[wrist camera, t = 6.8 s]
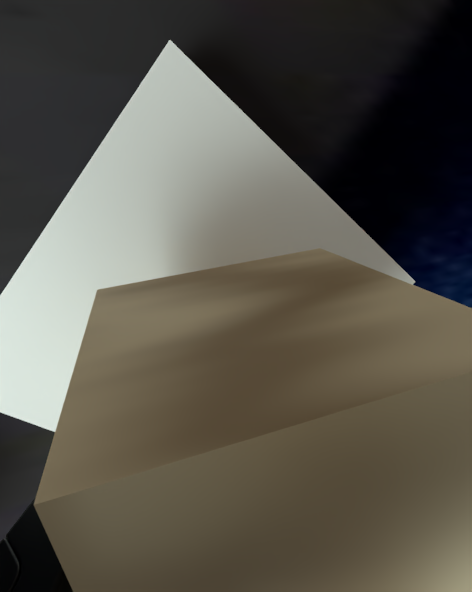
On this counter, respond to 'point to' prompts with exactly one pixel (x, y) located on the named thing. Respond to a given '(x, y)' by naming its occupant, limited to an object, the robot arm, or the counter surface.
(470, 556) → the maple cube
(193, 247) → the cream block
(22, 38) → the counter surface
